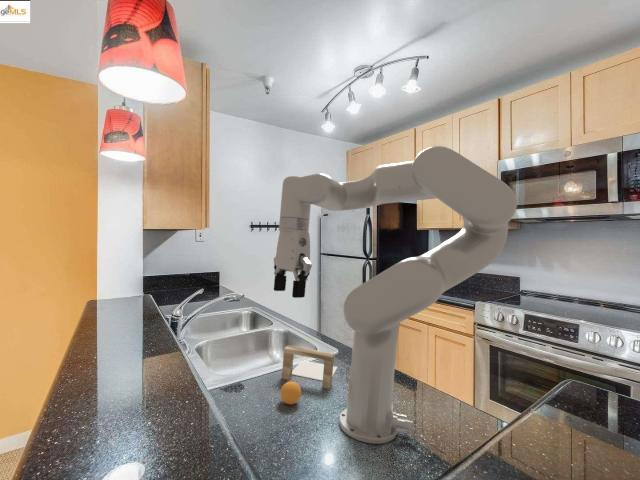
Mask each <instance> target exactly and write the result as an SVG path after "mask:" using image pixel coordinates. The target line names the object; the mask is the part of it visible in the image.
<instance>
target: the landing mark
mask: <svg viewBox="0 0 640 480" xmlns="http://www.w3.org/2000/svg"><path fill="white" fill-rule="evenodd" d="M338 367H339V366H336V365H335V366H334V365H333V374H332V378H333V376H334V375H335V373H336V372H337V370H338ZM323 371H324V363H321V362H316V361H315V362H314V361H308V360H305V359H303V360H301V362H299V364H298V365H296V367H295V368H293V369H292V376H297V377H302V378H305V379H311V380H316V381H320V382H323Z"/></svg>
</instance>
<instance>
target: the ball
mask: <svg viewBox="0 0 640 480" xmlns="http://www.w3.org/2000/svg"><path fill="white" fill-rule="evenodd" d="M280 397H281V400H282V401H283V402H284V403H285V404H286V405H294V404H296V403H298V402H299V401H300V399H301V398H302V389H301V386H300V384H299V383H298V382H295V381H291V380H290V381H287V382H286V383H284V384H283V385H282V386H281V389H280Z"/></svg>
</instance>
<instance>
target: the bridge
mask: <svg viewBox="0 0 640 480" xmlns="http://www.w3.org/2000/svg"><path fill="white" fill-rule="evenodd" d="M295 355H297V356H301V357H307V358H310V359H317V360H321V361H322V360H323V361H324V362H323V364H324V371H323V381H321V382H322V384H321V388H323V389H328V390H330V388H331V387H332V384H333V383H332V382H333V377H332V374H333V366H334V361H335V360H334V359H335V353H332V352H327V351H322V350H317V349H310V348H305V347H301V346H295V345H290V344H288V345H286V346H285V347H284V349H283V357H282V358H283V360H282V369H281V370H282V371H281V380H285V381H289V380H290V379H291V378H292V377H293V375H292V371H293V369H294V367H293V365H294V356H295Z"/></svg>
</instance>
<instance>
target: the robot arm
mask: <svg viewBox="0 0 640 480" xmlns="http://www.w3.org/2000/svg"><path fill="white" fill-rule="evenodd" d="M281 188H282V189H281V198H280V199H281V201H280V212H279V222H278V232H279V233H278V239H277V246H276V253H275V257H274V258H273V264H274V265H273V268H274V272H273V274H274V282H273V290H274V292H284V291H286V288H287V287H286V286H287V285H286V284H287V275H286V274H287V272H291V273H293V274H292V275H293V276H294V277H293V278H294V280H293V281H292V282H293V283H292V294H291V296H292V298H294V299H295V298H296V299H297V298H299V299H300V298H305V296H306V288H307V287H306V286H307V285H306V283H307V281H308V277H309V275H310V272H311V269H312V266H313V264H312V263H311V237H310V233H309V229H310V228H309V227H310V217H311V206H312V205H313V206H317V207H320V208H323V209H326V210H328V211H333V212H335V211H336V212H337V211H339V212H341V211H349V210H351V211H352V210H353V211H354V210H360V209H366V208H370V207H371V208H372V207H375V206H376V207H377V206H380V205H385V204H393V203H401V202H402V203H404V202H413V201H425V200H436V199H438V200H439V201H440V202H442V203H443V204H445V205H446V206H447V207H448V208H450V209H451V210H452V211H454V212H456V213H457V214H458V215H460V216H461V217H462V220H463V226H462V228H461V229H460V231H458V232H457V233H456V234H455V235H453V236H452V237H450V238H449V239H446V240H445V241H443V242H442V243H440V244H439V245H438V246H435V247H434V248H432V249H430V250H428V251H427V252H424V253H423V254H421V255H418V256H412V257H408V258H405V259H402V260H400V261H399V262H397V263H394V264H393V265H392V266H390V267H388V268H387V269H385V270H383V271H382V272H380V273H378V274H377V275H375V276H373V277H372V278H370V279H369V280H366V281H365V282H363V283H361V284H360V285H359V286H357V287H354V288H353V289H352V290H351V291H350V293H348V295H347V297H346V298H345V301H344V303H343V316H344V320H345V322H346V323H347V325H348V326H349V327H350V328H351V330H353V331H354V332H353V338H352V341H353V342H352V349H351V350H352V351H351V361H350V374H349V382H348V383H349V385H348V395H347V407H346V409H344V410H342V411H341V412H340V414H339V418H338V423H339V427H340V428H341V430H342V432H343V433H345V434H346V435H347V436H349V437H350V438H352V439H355V440H356V441H359V442H362V443H366V444H372V445H373V444H375V445H377V444H379V445H381V444H382V445H383V444H385V443H386V444H387V443H389V442H391V441H393V440H394V439H396V437H397V434H398V428H399V429H401V430H405V431H408V432H413V426H414V421H413V420H409V419H408V418H407V417H408V416H407V414H402V413H397V412H396V411H394V404H393V395H394V381H395V372H396V371H395V370H396V358H397V347H398V340H399V339H398V338H399V337H398V336H399V330H400V324H401V322H404V321H405V320H407V319H409V318H411V317H414V316H415V315H417V314H419V313H420V312H423V311H424V310H426V309H427V308H429V307H431V306H432V305H434V304H435V303H436V302H437V301H438V300H439V299H440V297H441V296H442V294H444V293H445V292H446V291H448V290H450V289H451V288H453V287H455V286H457V285H459V284H460V283H462V282H464V281H466V280H467V279H469V278H470V277H472V276H475V274H478V273H479V272H481V271H483V270H484V269H485V268H487V267H488V266H489V265H491V264H492V263H494V261H495V260H496V259H497V258H498V257H499V255H500V254H501V252H502V251H503V248H504V246H505V245H506V242H507V239H508V232H509V222H510V221H511V220H512V218H513V217H514V216H515V213H516V211H517V205H518V204H517V203H518V201H517V197H516V194H515V193H514V191H513V189H512V188H511V187H510V186H509V185H508V184H507V183H506V182H504V181H503V180H501V179H500V178H498V177H497V176H495V175H494V174H492V173H490V172H489V171H487V170H485V169H484V168H483V167H480V165H478V164H476V163H474V162H473V161H471V160H470V159H468V158H467V157H465V156H463V155H462V154H460V153H459V152H458V151H455V150H454V149H452V148H448V147H447V146H443V145H442V146H441V145H434V146H429V147H427V148H425V149H423V150H421V151H420V152H419V153H418V154H417V156H415V157H414V160H411V161H403V162H397V163H390V164H381V165H378V166H377V167H376V168H375V169H374V171H373V172H372V173H370V175H368V176H367V177H364V178H362V179H357V180H351V181H345V182H343V181H342V182H339V181H338V180H335V178H332V177H331V176H330V175H328V174H326V173H314V174H310V175H309V174H307V175H304V176H299V175H298V176H297V175H291V176H286V177H285V178H284V179H283V181H282V187H281ZM395 436H396V437H395Z"/></svg>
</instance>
